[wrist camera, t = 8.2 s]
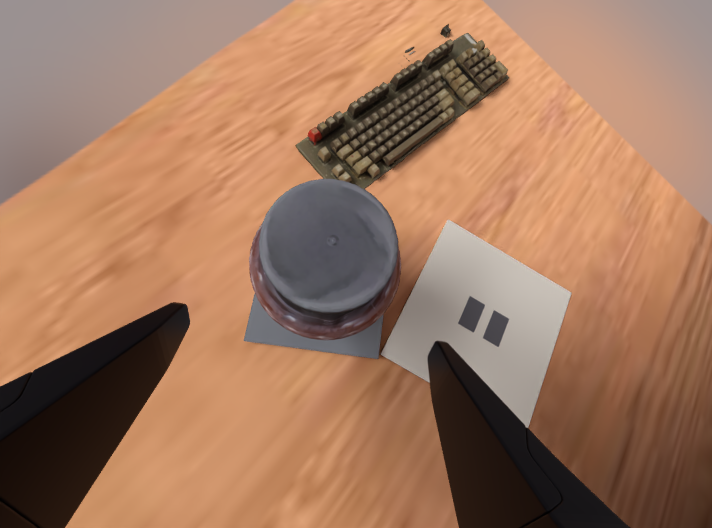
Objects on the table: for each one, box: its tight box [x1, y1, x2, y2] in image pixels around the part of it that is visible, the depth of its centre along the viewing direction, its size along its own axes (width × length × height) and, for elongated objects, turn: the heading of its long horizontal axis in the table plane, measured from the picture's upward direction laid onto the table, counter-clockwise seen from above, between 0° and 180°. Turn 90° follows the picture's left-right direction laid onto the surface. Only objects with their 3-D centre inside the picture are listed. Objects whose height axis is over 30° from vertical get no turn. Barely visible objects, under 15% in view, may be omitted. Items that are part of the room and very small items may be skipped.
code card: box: [380, 220, 571, 428], centre depth 20 cm, size 12×12×1 cm
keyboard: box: [295, 24, 509, 189], centre depth 23 cm, size 22×9×2 cm, turn 132°
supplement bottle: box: [249, 179, 401, 340], centre depth 13 cm, size 6×6×11 cm
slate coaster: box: [244, 294, 384, 359], centre depth 19 cm, size 9×9×1 cm
